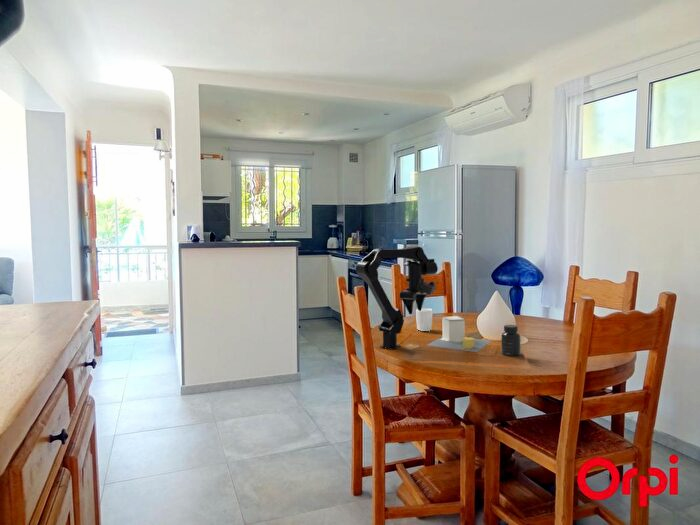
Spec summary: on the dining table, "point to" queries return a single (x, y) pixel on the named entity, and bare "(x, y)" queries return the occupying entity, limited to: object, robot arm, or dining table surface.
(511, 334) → the supplement bottle
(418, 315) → the white cup
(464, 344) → the board
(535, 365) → the dining table surface
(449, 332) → the white rounded cube
